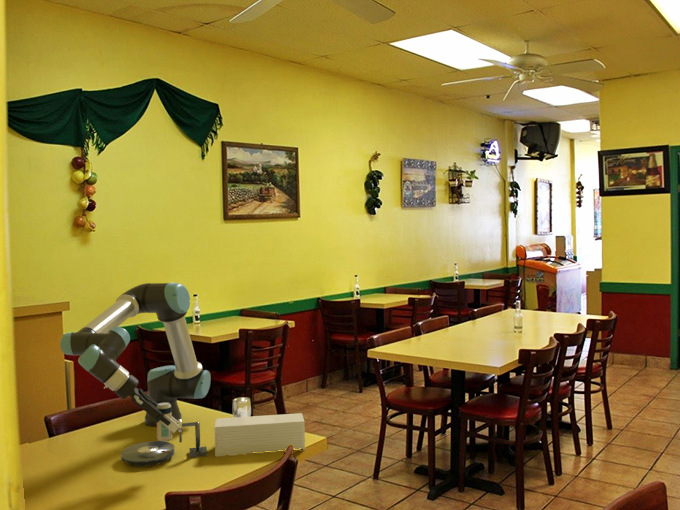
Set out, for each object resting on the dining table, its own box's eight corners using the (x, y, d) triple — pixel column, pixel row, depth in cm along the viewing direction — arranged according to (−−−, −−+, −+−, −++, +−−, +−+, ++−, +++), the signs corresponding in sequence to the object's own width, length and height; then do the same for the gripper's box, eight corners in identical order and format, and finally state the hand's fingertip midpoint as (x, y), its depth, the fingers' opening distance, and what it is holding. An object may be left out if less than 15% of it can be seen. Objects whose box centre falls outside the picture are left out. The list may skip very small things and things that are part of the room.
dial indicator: (179, 453, 228) (178, 417, 228) (206, 450, 231) (205, 414, 230) (179, 458, 222) (178, 421, 222) (207, 455, 225) (206, 419, 224)
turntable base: (118, 463, 219) (118, 460, 219) (145, 450, 232) (145, 447, 232) (151, 468, 214) (151, 464, 214) (177, 454, 227) (176, 451, 227)
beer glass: (250, 440, 241) (249, 401, 240) (232, 440, 241) (230, 401, 240) (253, 434, 248) (252, 396, 247) (235, 435, 248) (234, 397, 247)
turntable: (109, 460, 218) (109, 454, 218) (144, 444, 235) (144, 438, 234) (152, 466, 211) (152, 460, 211) (184, 449, 228) (184, 443, 228)
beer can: (166, 436, 212) (165, 401, 212) (175, 439, 209) (174, 403, 209) (154, 440, 208) (153, 404, 208) (162, 443, 205) (161, 406, 205)
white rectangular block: (302, 441, 239) (302, 413, 239) (305, 450, 229) (304, 421, 228) (216, 447, 235) (216, 418, 234) (215, 457, 224) (214, 427, 224)
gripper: (114, 385, 212) (166, 428, 218) (113, 398, 195) (169, 444, 201) (130, 368, 213) (181, 411, 219) (130, 379, 196) (186, 425, 202)
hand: (176, 427), depth 210 cm, fingers closed on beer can, 5 cm apart
